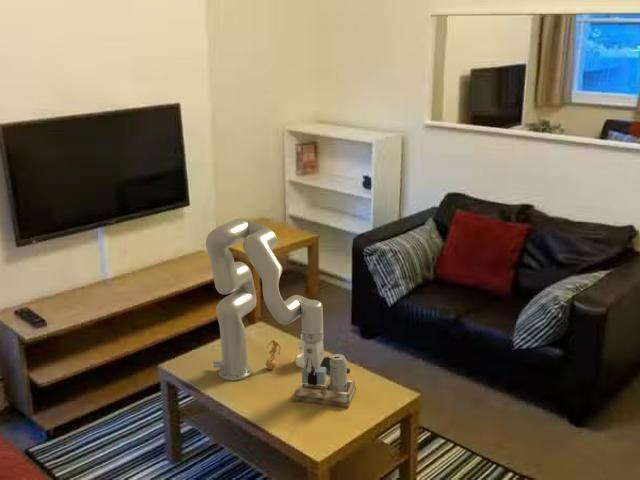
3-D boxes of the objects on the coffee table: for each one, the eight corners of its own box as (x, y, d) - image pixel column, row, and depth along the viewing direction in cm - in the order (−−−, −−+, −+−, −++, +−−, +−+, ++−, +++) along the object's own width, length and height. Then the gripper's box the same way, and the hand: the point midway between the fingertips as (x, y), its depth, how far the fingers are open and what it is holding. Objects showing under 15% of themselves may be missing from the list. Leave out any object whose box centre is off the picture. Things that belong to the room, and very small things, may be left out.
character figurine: (301, 355, 284) (301, 328, 281) (323, 360, 281) (322, 332, 277) (291, 365, 277) (291, 337, 273) (313, 370, 273) (313, 342, 269)
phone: (327, 356, 282) (351, 370, 271) (327, 358, 283) (351, 372, 271) (311, 362, 278) (335, 376, 266) (311, 364, 278) (335, 379, 267)
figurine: (260, 366, 277) (259, 338, 273) (273, 361, 280) (272, 334, 276) (272, 374, 270) (271, 346, 267) (285, 369, 274) (284, 341, 270)
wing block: (302, 383, 253) (301, 370, 252) (304, 377, 257) (304, 365, 255) (324, 385, 251) (323, 372, 250) (326, 379, 255) (326, 367, 254)
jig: (292, 401, 252) (291, 390, 250) (302, 383, 263) (301, 372, 262) (348, 408, 247) (348, 396, 245) (355, 389, 259) (355, 378, 257)
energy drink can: (349, 397, 252) (349, 359, 247) (333, 400, 250) (332, 362, 245) (343, 389, 257) (343, 352, 252) (328, 391, 255) (327, 354, 251)
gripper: (317, 346, 240) (318, 393, 246) (328, 325, 255) (329, 370, 261) (295, 344, 242) (297, 391, 247) (308, 324, 257) (310, 369, 263)
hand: (314, 380), depth 254 cm, fingers closed on wing block, 4 cm apart
